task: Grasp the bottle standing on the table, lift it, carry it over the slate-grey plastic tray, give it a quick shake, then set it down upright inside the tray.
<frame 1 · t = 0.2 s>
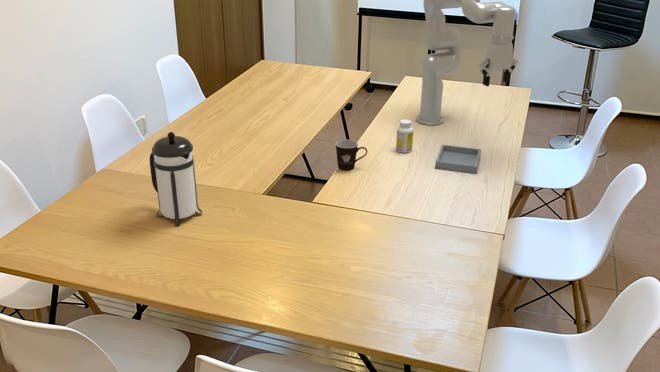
hand: (495, 83, 249), 31 cm above the table, tool pointing down, fingers open, 9 cm apart
coffee press: (176, 215, 217), on the table
coffee mug: (349, 168, 252), on the table
supplement bottle: (403, 150, 268), on the table
tray: (458, 162, 258), on the table
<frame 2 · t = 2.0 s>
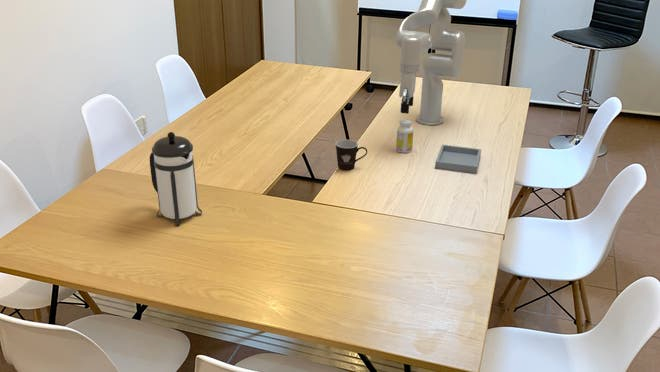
hand: (406, 109, 260), 18 cm above the table, tool pointing down, fingers open, 9 cm apart
nothing on the table moved.
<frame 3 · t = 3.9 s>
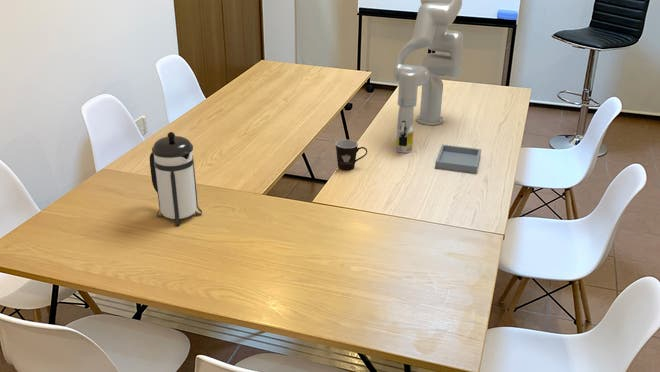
hand: (404, 141, 267), 4 cm above the table, tool pointing down, fingers closed on supplement bottle, 6 cm apart
supplement bottle: (403, 150, 268), on the table, touching gripper
everything else where it was.
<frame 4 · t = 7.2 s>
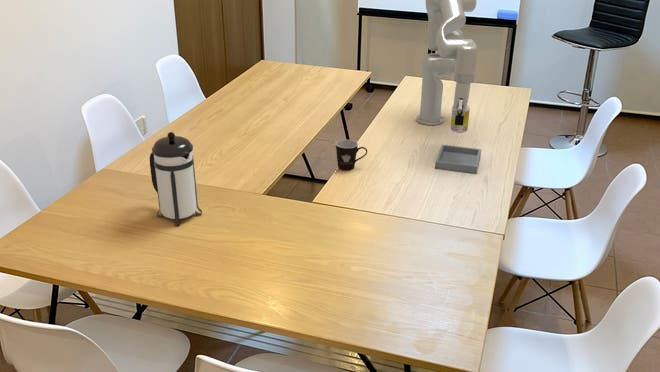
hand: (459, 121, 251), 17 cm above the table, tool pointing down, fingers closed on supplement bottle, 6 cm apart
supplement bottle: (458, 130, 253), point 13 cm above the table, touching gripper
everything else where it was.
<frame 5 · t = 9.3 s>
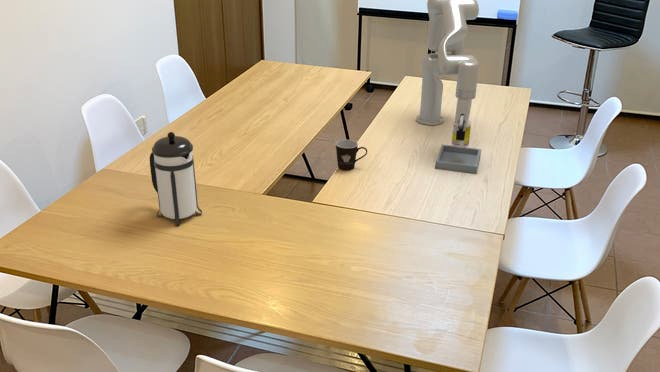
hand: (461, 136, 253), 11 cm above the table, tool pointing down, fingers closed on supplement bottle, 6 cm apart
supplement bottle: (460, 145, 255), point 7 cm above the table, touching gripper
everything else where it was.
when the fingers open (6 cm above the table, at t = 10.8 s): supplement bottle drops 1 cm, resting on tray.
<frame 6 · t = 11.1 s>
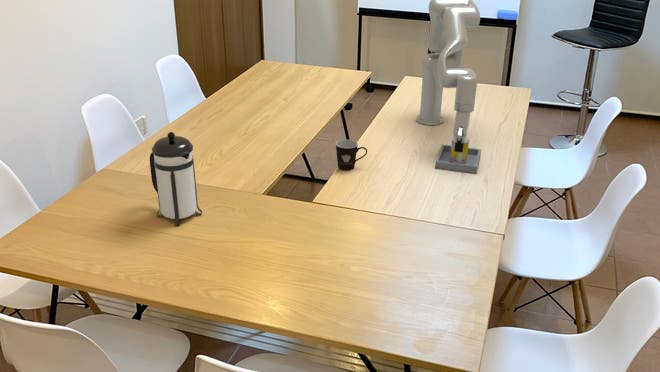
hand: (459, 147, 255), 6 cm above the table, tool pointing down, fingers open, 9 cm apart
supplement bottle: (458, 161, 258), resting on tray
everything else where it was.
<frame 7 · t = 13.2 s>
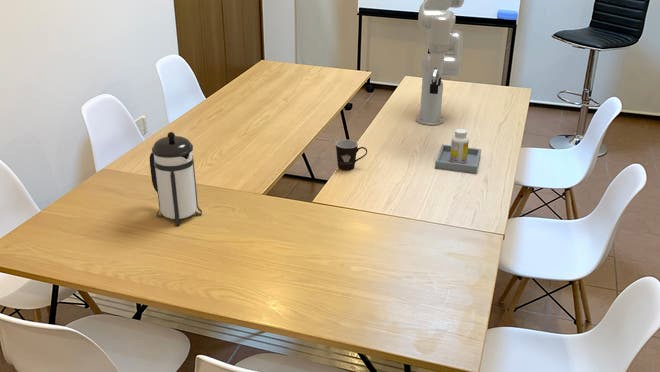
hand: (435, 89, 258), 26 cm above the table, tool pointing down, fingers open, 9 cm apart
nothing on the table moved.
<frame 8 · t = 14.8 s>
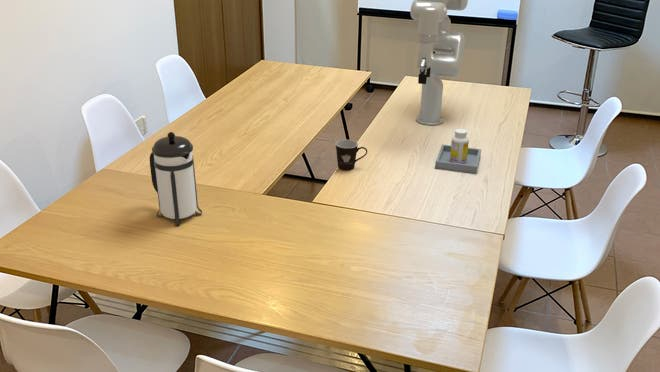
hand: (424, 80, 261), 28 cm above the table, tool pointing down, fingers open, 9 cm apart
nothing on the table moved.
at the end: supplement bottle inside the target area on the tray (0.2 cm from its centre), point 0.4 cm above the tray's base; supplement bottle tilted 0°; the gripper is holding nothing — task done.
